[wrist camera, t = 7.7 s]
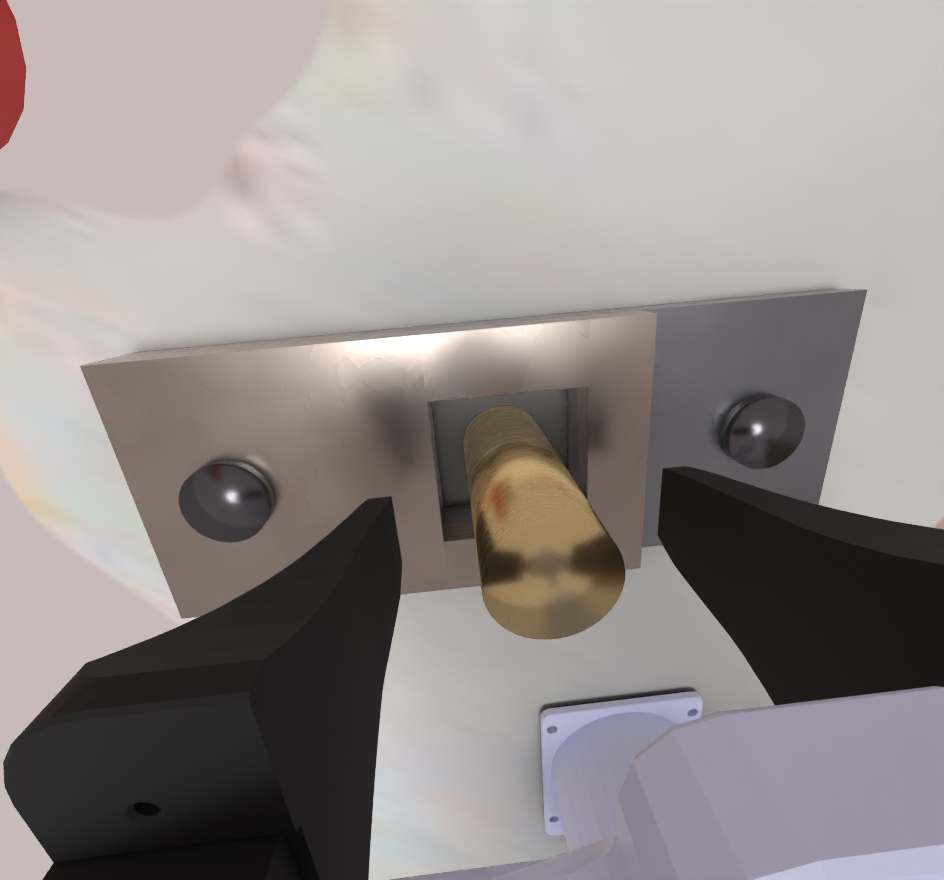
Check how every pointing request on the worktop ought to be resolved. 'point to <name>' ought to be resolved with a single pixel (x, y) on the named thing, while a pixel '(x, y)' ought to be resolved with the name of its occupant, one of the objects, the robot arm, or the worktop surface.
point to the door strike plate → (457, 377)
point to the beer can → (10, 74)
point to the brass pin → (535, 531)
